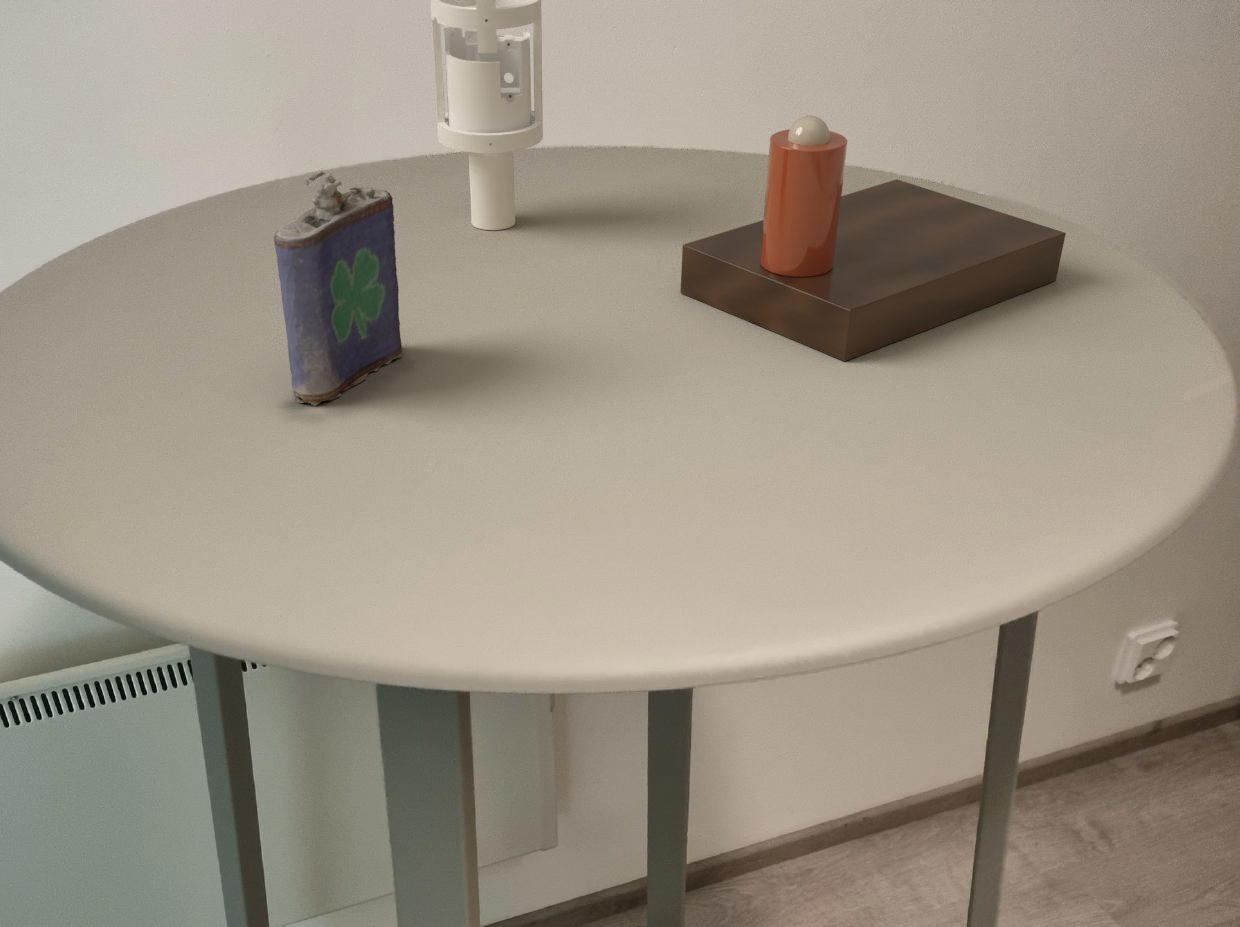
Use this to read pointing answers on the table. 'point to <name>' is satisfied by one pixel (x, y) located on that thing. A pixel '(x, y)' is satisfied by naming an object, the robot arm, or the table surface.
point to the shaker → (803, 199)
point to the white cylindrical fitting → (488, 96)
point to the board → (879, 270)
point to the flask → (339, 289)
